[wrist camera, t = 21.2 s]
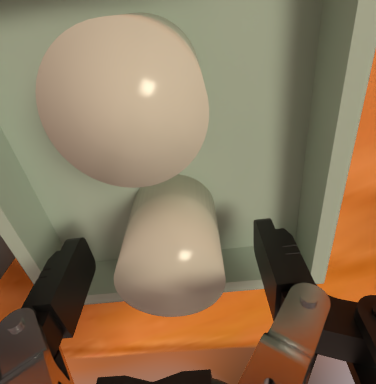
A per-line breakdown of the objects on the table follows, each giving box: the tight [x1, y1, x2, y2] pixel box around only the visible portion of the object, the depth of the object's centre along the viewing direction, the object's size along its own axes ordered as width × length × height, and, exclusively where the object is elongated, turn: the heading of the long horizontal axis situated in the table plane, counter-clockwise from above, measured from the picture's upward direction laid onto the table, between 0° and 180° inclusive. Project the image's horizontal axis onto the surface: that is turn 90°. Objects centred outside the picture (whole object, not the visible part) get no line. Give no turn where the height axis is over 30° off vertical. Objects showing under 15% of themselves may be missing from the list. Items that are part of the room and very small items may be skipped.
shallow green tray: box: [0, 0, 376, 305], centre depth 13 cm, size 16×16×4 cm
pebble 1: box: [35, 12, 209, 188], centre depth 9 cm, size 4×4×5 cm
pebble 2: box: [114, 174, 226, 317], centre depth 13 cm, size 4×4×5 cm
